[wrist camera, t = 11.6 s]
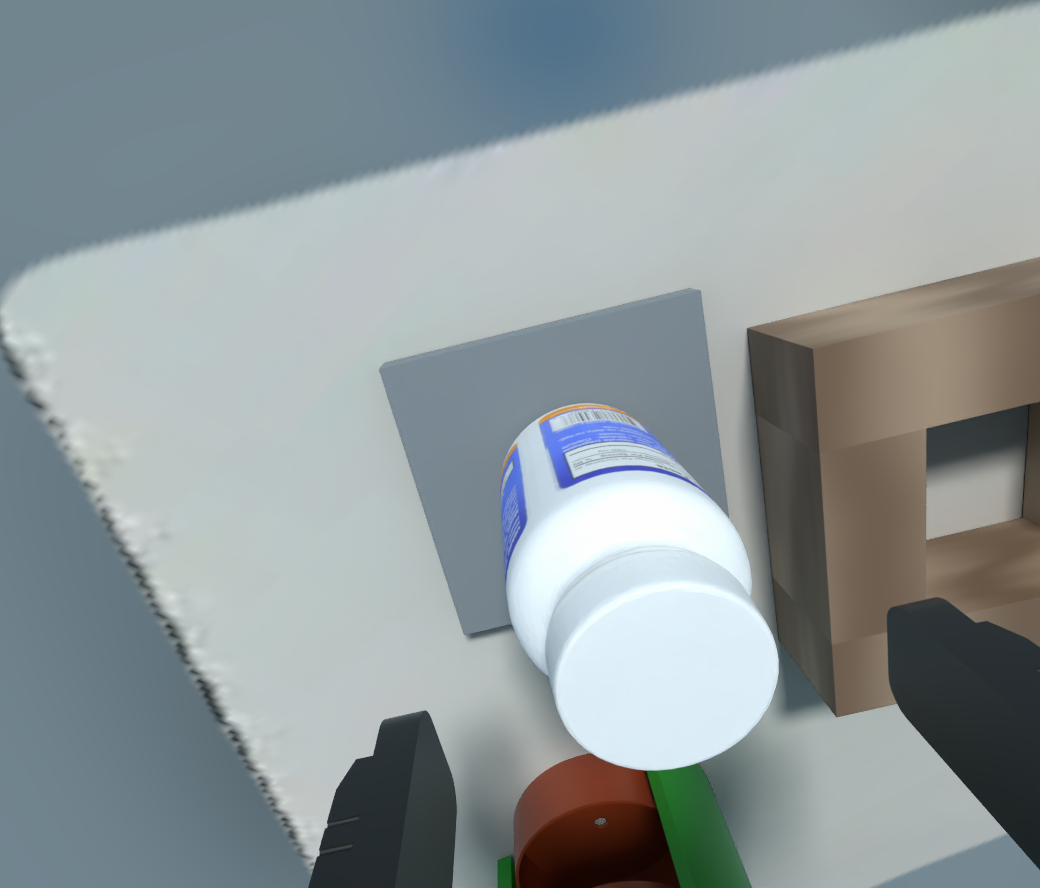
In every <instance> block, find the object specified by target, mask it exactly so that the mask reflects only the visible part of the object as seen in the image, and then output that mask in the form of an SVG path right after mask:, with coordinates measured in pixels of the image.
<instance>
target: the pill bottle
mask: <svg viewBox="0 0 1040 888" xmlns="http://www.w3.org/2000/svg"><path fill="white" fill-rule="evenodd" d="M500 503H501V518H502V535H503V551H504V568H505V582H506V594H507V601H508V609H509V614H510V619H511V622H512V626H513V628H514V631H515V633H516V636H517V638H518V640H519V642H520V644H521V645H522V647H523V649H524V650H525V652H526V653H527V655H528V656H529V658H530V659H531V660H532V662H533V663H534V664H535V665H536V666H537V667H538V668H539V669H540V670H541V671H542V672H543V673H544V674H546V675H547V676H548V677H549V678H550V683H551V687H552V692H553V696H554V701H555V705H556V708H557V711H558V714H559V716H560V718H561V720H562V722H563V724H564V726H565V727H566V729H567V730H568V732H569V733H570V735H571V736H572V737H573V738H574V739H575V740H576V741H577V742H578V743H579V744H580V745H581V746H582V747H584V748H585V749H586V750H587V751H589V752H590V753H592V754H594V755H595V756H597V757H598V758H600V759H603V760H605V761H607V762H610V763H612V764H615V765H619V766H622V767H627V768H632V769H637V770H656V771H657V770H670V769H675V768H680V767H685V766H690V765H693V764H696V763H699V762H702V761H704V760H707V759H710V758H712V757H714V756H716V755H718V754H720V753H722V752H724V751H726V750H727V749H729V748H730V747H732V746H733V745H734V744H736V743H737V742H738V741H740V740H741V739H742V738H744V737H745V736H746V735H747V734H748V733H749V732H750V731H751V729H752V728H753V727H754V726H755V725H756V724H757V723H758V722H759V720H760V719H761V717H762V716H763V714H764V713H765V711H766V710H767V708H768V706H769V705H770V702H771V700H772V697H773V694H774V691H775V688H776V685H777V680H778V674H779V661H778V653H777V648H776V644H775V641H774V637H773V635H772V632H771V630H770V629H769V627H768V625H767V623H766V621H765V620H764V618H763V617H762V615H761V614H760V612H759V611H758V609H757V608H756V606H755V605H754V603H753V602H752V600H751V586H752V578H751V570H750V565H749V560H748V557H747V553H746V550H745V547H744V545H743V542H742V540H741V537H740V535H739V533H738V532H737V530H736V528H735V527H734V525H733V524H732V522H731V521H730V520H729V518H728V517H727V516H726V514H725V513H724V512H723V511H722V510H721V508H720V507H719V506H718V505H717V504H716V503H715V502H714V500H713V499H712V498H711V497H710V496H709V495H708V494H707V493H706V492H705V491H704V489H703V488H702V487H701V486H700V485H699V484H698V483H697V482H696V481H695V480H694V479H693V477H692V476H691V475H690V474H689V473H688V472H687V471H686V470H685V469H684V468H683V467H682V466H681V465H680V463H679V462H678V461H677V460H676V459H675V458H674V457H673V456H672V455H671V454H670V453H669V452H668V451H667V450H666V448H665V447H664V446H663V445H662V444H661V443H660V442H659V441H658V440H657V439H656V438H655V437H654V436H653V435H652V433H651V432H650V431H649V430H648V429H647V428H646V427H645V426H644V425H643V424H641V423H640V422H639V421H637V420H636V419H635V418H633V417H632V416H630V415H628V414H627V413H625V412H623V411H621V410H619V409H616V408H613V407H610V406H607V405H601V404H593V403H582V404H573V405H568V406H564V407H561V408H558V409H555V410H553V411H551V412H549V413H547V414H545V415H543V416H541V417H540V418H538V419H537V420H535V421H534V422H532V423H531V424H530V425H528V426H527V427H526V428H525V429H524V430H523V431H522V432H521V433H520V435H519V436H518V437H517V438H516V439H515V441H514V442H513V444H512V446H511V447H510V449H509V451H508V453H507V455H506V458H505V460H504V463H503V468H502V472H501V480H500Z"/></svg>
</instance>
